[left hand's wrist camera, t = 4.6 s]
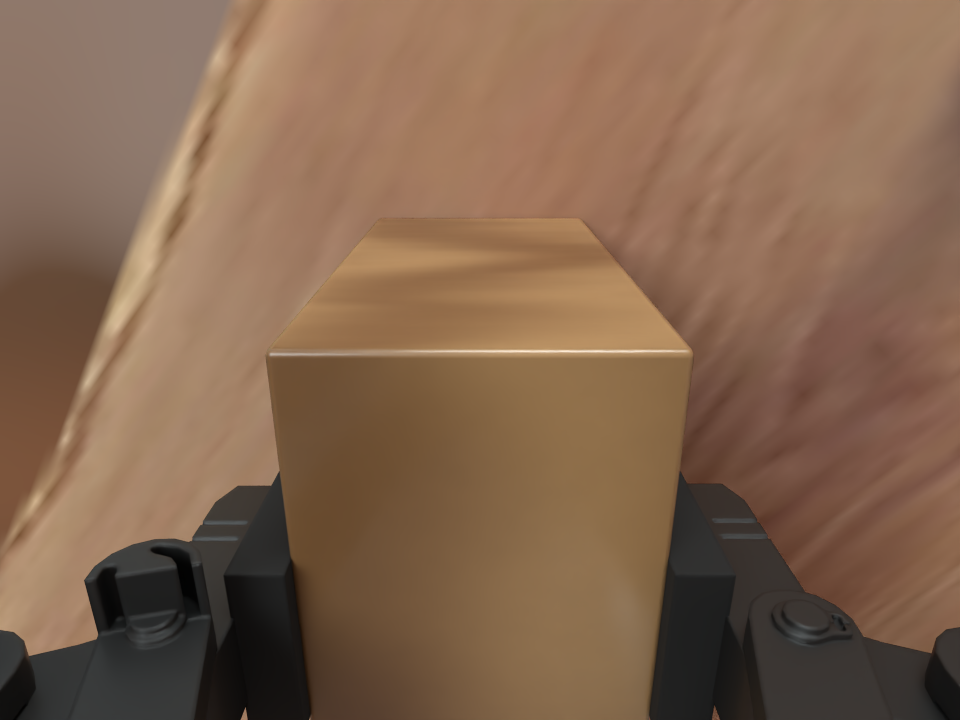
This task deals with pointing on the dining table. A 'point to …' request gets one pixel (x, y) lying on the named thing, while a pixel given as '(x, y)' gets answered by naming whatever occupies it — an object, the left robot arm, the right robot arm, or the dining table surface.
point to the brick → (479, 474)
